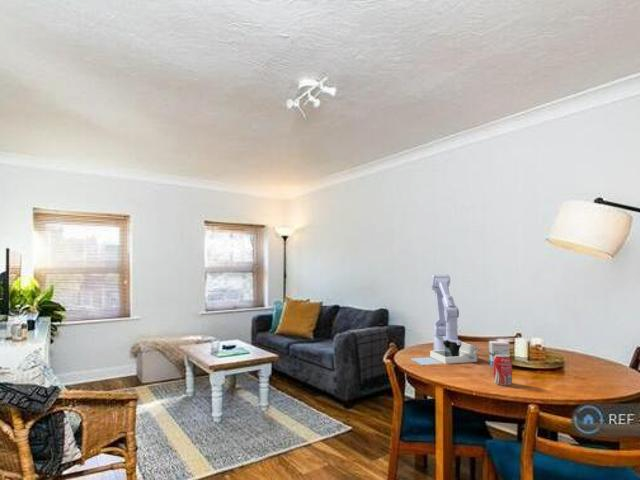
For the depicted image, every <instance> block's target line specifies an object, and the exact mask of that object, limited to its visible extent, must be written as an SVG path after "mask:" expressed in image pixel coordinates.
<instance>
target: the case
mask: <svg viewBox="0 0 640 480" xmlns="http://www.w3.org/2000/svg"><path fill="white" fill-rule="evenodd" d="M459 351H460V352H459V356H455V357H445V350H439V351H432V350H430V351H429V357H430V358H432V359H434V360H436V361H439V362H441V363H442V364H444V365H449V364H451V365H452V364H462V363H475V362H476V363H477V362H478V351H480V348H479V347H477V345H473V344H469V343H467V342H464V341H462V345H461V347H460V348H459Z"/></svg>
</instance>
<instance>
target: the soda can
mask: <svg viewBox="0 0 640 480" xmlns="http://www.w3.org/2000/svg"><path fill="white" fill-rule="evenodd" d="M492 367H493V382H494V383H495V384H496V385H498V386H503V387H508V386H510V385H512V384H513V363H512V359H511V356H510V355H507V354H495V357H494V359H493V366H492Z"/></svg>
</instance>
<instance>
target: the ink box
mask: <svg viewBox="0 0 640 480" xmlns="http://www.w3.org/2000/svg"><path fill="white" fill-rule="evenodd" d="M495 354H507V355H510V354H511V352H510V343H509V342H507V341H504V340H499V341H498V340H489V341H488V364H489V365H490V366H491V367H493V359H494V357H495Z"/></svg>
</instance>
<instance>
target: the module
mask: <svg viewBox="0 0 640 480" xmlns="http://www.w3.org/2000/svg"><path fill="white" fill-rule="evenodd" d="M459 352H460V351H458V354H457V356H459ZM445 357H452V350H451V347H445Z"/></svg>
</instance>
